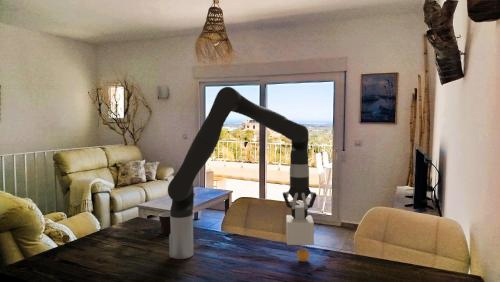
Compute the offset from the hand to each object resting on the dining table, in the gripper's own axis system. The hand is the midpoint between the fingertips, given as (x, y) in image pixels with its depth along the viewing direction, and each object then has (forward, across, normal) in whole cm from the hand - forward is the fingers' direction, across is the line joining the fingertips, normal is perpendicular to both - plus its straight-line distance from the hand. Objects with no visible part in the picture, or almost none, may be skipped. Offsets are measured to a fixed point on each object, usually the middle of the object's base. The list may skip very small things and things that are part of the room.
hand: (299, 217), depth 134 cm
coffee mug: (+18, -64, +31) cm, 73 cm away
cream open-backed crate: (+9, 0, 0) cm, 9 cm away
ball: (+15, +1, 0) cm, 15 cm away
